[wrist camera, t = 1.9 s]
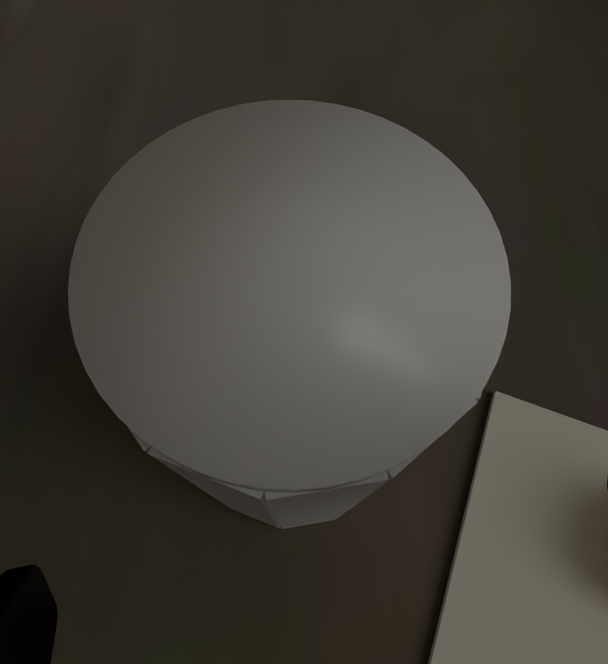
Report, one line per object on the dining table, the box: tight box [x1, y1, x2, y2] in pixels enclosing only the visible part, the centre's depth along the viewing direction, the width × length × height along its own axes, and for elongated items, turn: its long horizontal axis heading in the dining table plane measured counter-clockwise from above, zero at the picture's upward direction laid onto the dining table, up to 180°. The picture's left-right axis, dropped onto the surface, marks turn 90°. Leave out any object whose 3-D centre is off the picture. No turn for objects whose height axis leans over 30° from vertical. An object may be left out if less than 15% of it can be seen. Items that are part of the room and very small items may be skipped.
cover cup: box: [68, 100, 511, 529], centre depth 14 cm, size 7×7×12 cm
